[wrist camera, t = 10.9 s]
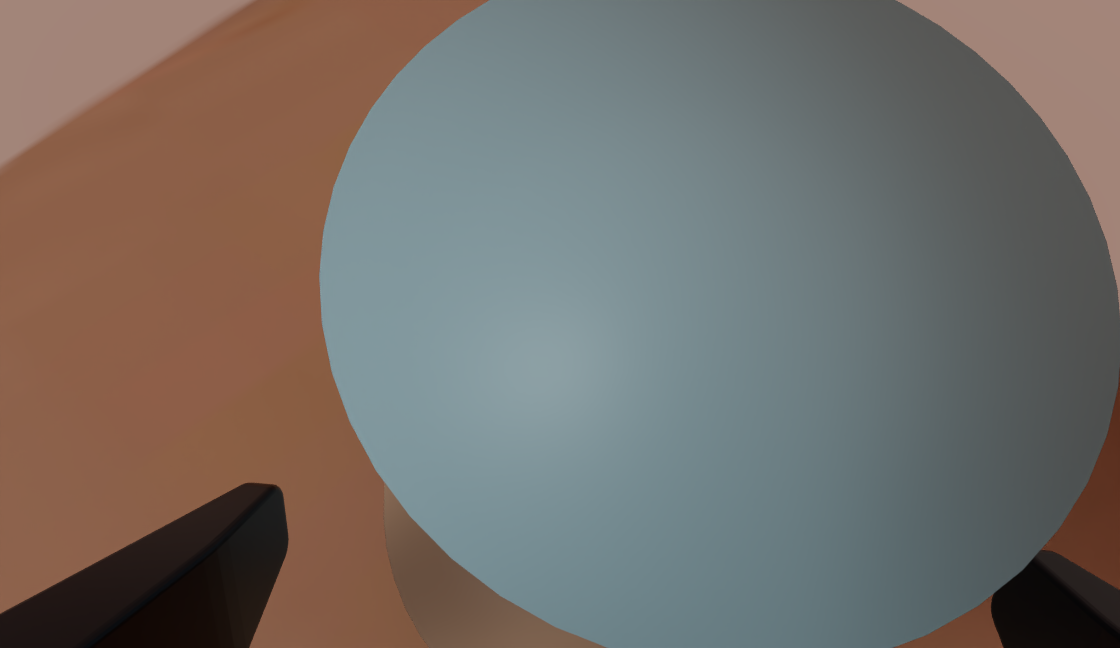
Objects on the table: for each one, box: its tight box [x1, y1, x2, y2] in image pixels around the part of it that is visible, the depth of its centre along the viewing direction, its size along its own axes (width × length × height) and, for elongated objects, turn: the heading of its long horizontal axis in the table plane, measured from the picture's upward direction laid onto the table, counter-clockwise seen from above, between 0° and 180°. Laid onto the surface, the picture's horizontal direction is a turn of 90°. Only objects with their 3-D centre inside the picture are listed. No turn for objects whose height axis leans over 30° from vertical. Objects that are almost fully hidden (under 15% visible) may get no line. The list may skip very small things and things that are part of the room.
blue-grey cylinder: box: [319, 0, 1120, 648], centre depth 11 cm, size 6×6×13 cm
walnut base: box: [384, 483, 607, 648], centre depth 18 cm, size 11×11×3 cm
